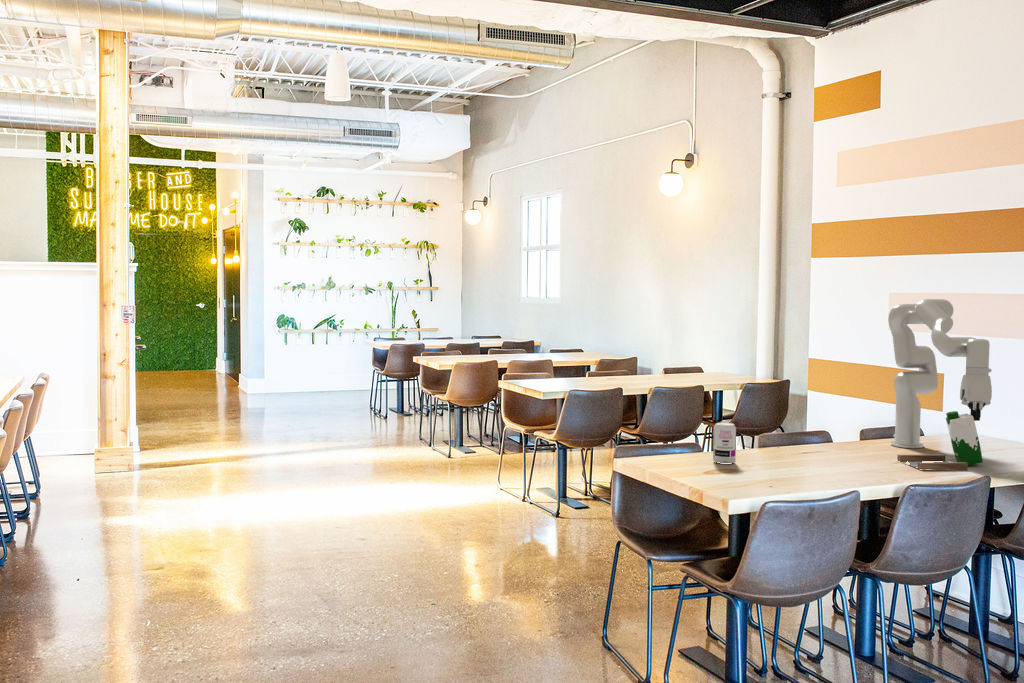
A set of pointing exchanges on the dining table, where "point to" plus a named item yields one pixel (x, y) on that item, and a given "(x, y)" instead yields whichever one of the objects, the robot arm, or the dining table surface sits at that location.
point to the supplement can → (724, 443)
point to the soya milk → (964, 438)
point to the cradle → (917, 462)
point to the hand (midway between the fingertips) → (975, 420)
